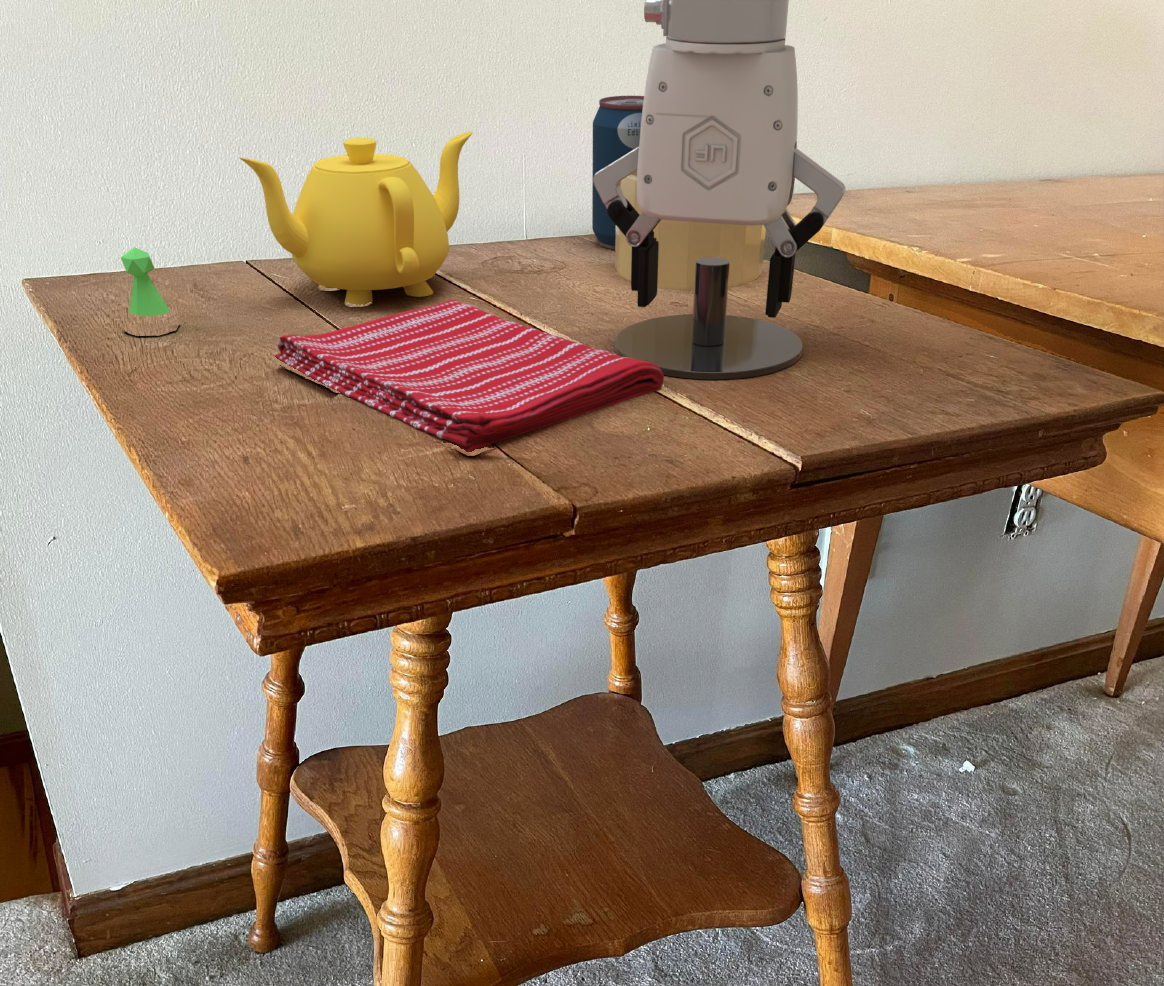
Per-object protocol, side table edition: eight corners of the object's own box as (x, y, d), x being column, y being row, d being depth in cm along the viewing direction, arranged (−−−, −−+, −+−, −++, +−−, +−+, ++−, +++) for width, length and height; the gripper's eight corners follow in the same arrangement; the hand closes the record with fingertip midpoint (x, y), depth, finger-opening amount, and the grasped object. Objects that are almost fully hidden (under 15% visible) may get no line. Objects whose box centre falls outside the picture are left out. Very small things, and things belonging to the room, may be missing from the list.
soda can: (660, 253, 111) (664, 106, 103) (586, 250, 112) (586, 104, 104) (668, 235, 116) (674, 95, 109) (598, 232, 117) (599, 93, 110)
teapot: (302, 335, 91) (278, 170, 85) (235, 290, 101) (209, 139, 95) (526, 294, 100) (521, 142, 93) (444, 257, 110) (434, 116, 103)
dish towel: (474, 465, 71) (472, 421, 70) (269, 369, 85) (263, 331, 84) (674, 396, 80) (675, 356, 79) (459, 320, 94) (457, 285, 93)
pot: (771, 262, 108) (780, 158, 103) (746, 301, 98) (755, 188, 93) (636, 253, 111) (638, 151, 106) (599, 290, 101) (599, 180, 96)
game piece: (186, 332, 92) (170, 249, 89) (129, 340, 91) (110, 257, 87) (174, 317, 95) (158, 237, 92) (119, 325, 94) (100, 244, 90)
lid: (812, 336, 91) (823, 243, 87) (785, 396, 80) (796, 294, 76) (639, 322, 94) (641, 232, 90) (591, 378, 83) (592, 279, 79)
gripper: (576, 23, 74) (577, 312, 84) (860, 30, 70) (825, 332, 80) (608, 12, 79) (606, 284, 90) (873, 18, 75) (838, 302, 86)
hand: (709, 306), depth 85 cm, fingers open, 8 cm apart
